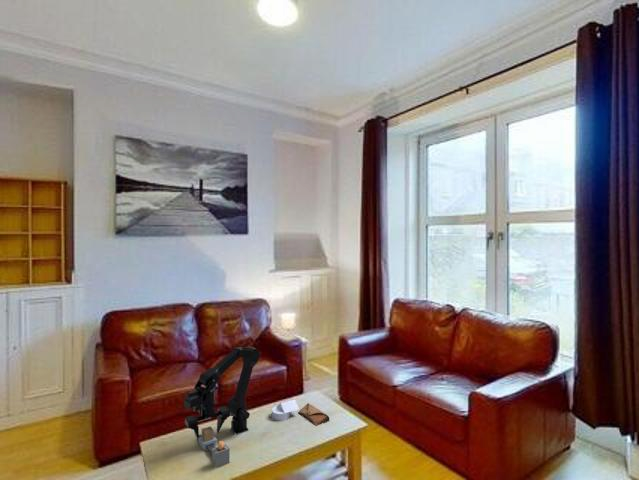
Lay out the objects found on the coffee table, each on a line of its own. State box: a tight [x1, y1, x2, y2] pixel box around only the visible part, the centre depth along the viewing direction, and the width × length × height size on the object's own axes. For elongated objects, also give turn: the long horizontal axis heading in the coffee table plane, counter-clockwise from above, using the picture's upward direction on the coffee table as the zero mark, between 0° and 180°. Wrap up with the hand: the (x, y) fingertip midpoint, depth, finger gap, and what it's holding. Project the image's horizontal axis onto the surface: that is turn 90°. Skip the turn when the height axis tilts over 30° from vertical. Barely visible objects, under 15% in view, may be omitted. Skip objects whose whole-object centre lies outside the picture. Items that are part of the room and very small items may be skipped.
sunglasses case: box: [297, 402, 330, 427], centre depth 193 cm, size 18×7×7 cm
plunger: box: [217, 440, 224, 451], centre depth 153 cm, size 2×2×3 cm
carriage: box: [197, 426, 218, 451], centre depth 166 cm, size 6×6×7 cm
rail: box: [199, 433, 217, 457], centre depth 164 cm, size 5×20×2 cm, turn 36°
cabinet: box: [211, 443, 231, 469], centre depth 153 cm, size 6×4×6 cm, turn 126°
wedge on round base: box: [271, 399, 300, 421], centre depth 194 cm, size 9×7×13 cm
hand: (207, 435), depth 166 cm, fingers open, 9 cm apart
